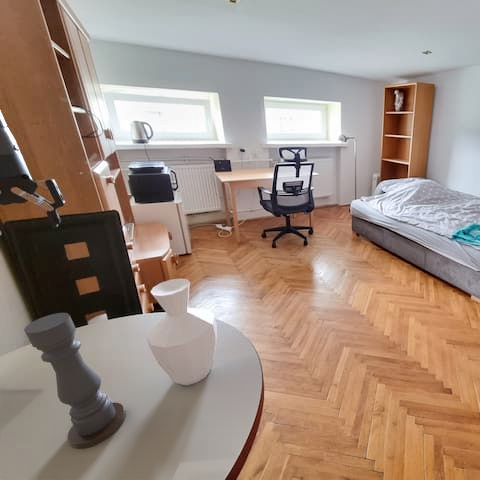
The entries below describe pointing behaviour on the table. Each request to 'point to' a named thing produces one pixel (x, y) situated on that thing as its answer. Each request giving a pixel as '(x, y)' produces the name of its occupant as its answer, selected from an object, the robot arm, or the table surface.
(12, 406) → the table surface
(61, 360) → the candle holder
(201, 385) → the table surface
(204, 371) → the vase
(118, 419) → the coaster
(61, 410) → the table surface
